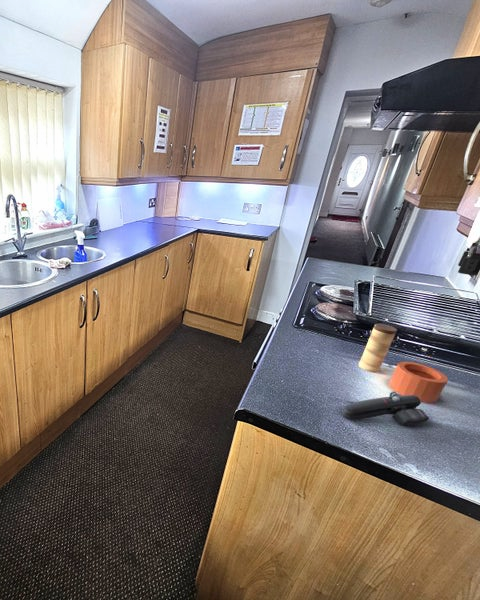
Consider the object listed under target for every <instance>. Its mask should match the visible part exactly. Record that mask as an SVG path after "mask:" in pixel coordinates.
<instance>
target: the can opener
mask: <svg viewBox="0 0 480 600" xmlns="http://www.w3.org/2000/svg"><path fill="white" fill-rule="evenodd" d="M421 403H422V402H421V401H420V399H419V398H418V397H417V396H415V395H404V396H403V395H401V394H399V393H397V392H396V391H394V390H393V391H390V392H389V396H384V397H375V398H370V399H364V400H360V401H359V400H358V401H355V402H351V403H348V404H345V410H344V411H342V412H341V416H343V418H344V419H347V420H350V421H351V420H362V419H368V418H376V417H380V416H385V415H392V416H391V418H392V419H393V420H395V421H396V422H397V423H399V424H400V425H402V426H417V425H421V424H423V423H425V422H428V421H429V416H428V415H427V414H426V413H425V412H424V410H422V409H421V408H418V407H419V406H420V405H421Z"/></svg>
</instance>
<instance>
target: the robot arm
mask: <svg viewBox="0 0 480 600" xmlns="http://www.w3.org/2000/svg"><path fill="white" fill-rule="evenodd" d="M474 207H476V208H477V207H478V208H480V194H478V197H477V199H476V201H475V203H474ZM457 265H458V267H459V268H458V270H457V273H458V274H462V275H469V276H473V277H474V276H475V277H476V276H478V275H479V272H480V210H479V211H478V213H477V215H476V217H475V220H474V222H473V224H472V226H471V229H470V232H469V234H468V237H467V240H466V250H464V251H463V253H462V255H461V257H460V260H459V262H458V264H457Z"/></svg>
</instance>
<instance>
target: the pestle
mask: <svg viewBox="0 0 480 600" xmlns="http://www.w3.org/2000/svg"><path fill="white" fill-rule="evenodd" d="M397 331H398V329H397V327H394V326H392V325H389V324H385V323H374V326H373V327H372V330H371V332H370V335H369V338H368V341H367V343H366V345H365V348H364V350H363V353H362V355H361V358H360V360H359V362H358V367H359V368H360V369H362V370H364V371H367V372H369V373H379V372H380V370H381V368H382V365H383V364H384V361H385V359H386V356H387V355H388V352H389V350H390V347H391V345H392V342H393V340H394V338H395V336H396V333H397Z"/></svg>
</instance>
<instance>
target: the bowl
mask: <svg viewBox="0 0 480 600" xmlns="http://www.w3.org/2000/svg"><path fill="white" fill-rule="evenodd" d="M448 381H449V379H448V377H447V376H446V374H444V373H443V372H441V371H439V370H437V369H435V368H433V367H431V366H428V365H425V364H421V363H418V362H413V361H400V362H398V363H397V365H396V368H395V370H394V372H393V374H392V376H391V378H390V380H389V382H388V385H389V387H390V389H392V390H393V391H395V392H397V393H399V394H400V395H402V396H404V395H415V396H417V397H418V398H419V399H420V401H421V403H425V404H426V403H427V404H433V403H436V402H438V400H439V398H440V396H441V394H442V392H443V390H444V388H445V387H446V385H447V383H448Z"/></svg>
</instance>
